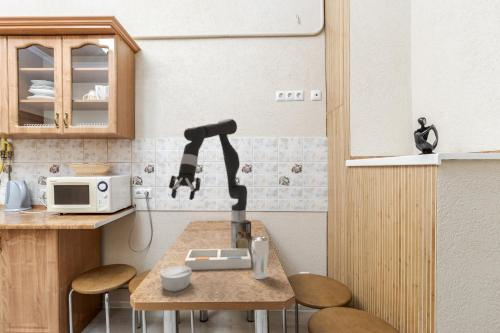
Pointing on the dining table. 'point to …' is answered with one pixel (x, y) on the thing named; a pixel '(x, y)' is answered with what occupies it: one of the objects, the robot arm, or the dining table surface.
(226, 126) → the robot arm
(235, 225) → the coffee box
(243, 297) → the dining table surface
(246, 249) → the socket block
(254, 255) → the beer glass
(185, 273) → the ramekin
